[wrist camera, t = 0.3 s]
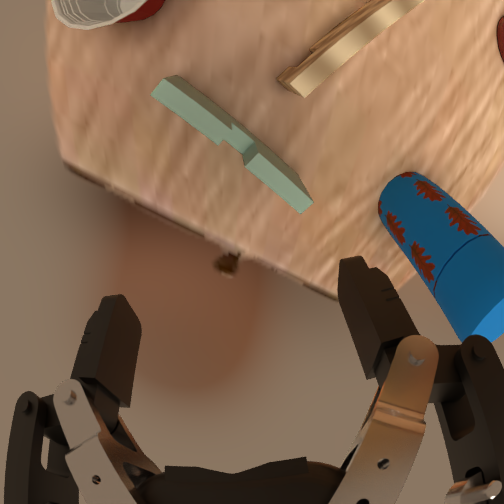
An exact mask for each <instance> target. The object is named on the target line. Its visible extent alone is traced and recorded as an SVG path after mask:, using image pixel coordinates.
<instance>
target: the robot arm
mask: <svg viewBox="0 0 504 504" xmlns="http://www.w3.org/2000/svg"><path fill="white" fill-rule="evenodd" d="M338 299H339V303H340V306H341V309H342V312H343V314H344V317H345V320H346V322H347V325H348V328H349V330H350V333H351V336H352V339H353V342H354V344H355V347H356V350H357V353H358V356H359V359H360V361H361V364H362V367H363V370H364V373H365V376H366V379H367V380H368V379H371V378H375V377H376V379H377V382H378V385H379V386H378V388H377V391H376V393H375V396H374V398H373V401H372V403H371V405H370V408H369V410H368V412H367V414H366V417H365V419H364V421H363V423H362V426H361V428H360V430H359V432H358V434H357V436H356V438H355V440H354V441H353V443H352V445H351V447H350V448H349V450H348V453H347V454H346V456H345V458H344V460H343V462H342V464H341V465H340V467H339V468H338V467H335V466H332V465H329V464H325V463H321V462H312V461H307V459H306V457H301V458H296V459H289V460H283V461H276V462H269V463H266V464H263V465H261V466H258V467H255V468H252V469H249V470H245V471H243V472H239V473H235V474H229V473H224V472H219V471H214V470H209V469H204V468H200V467H181V466H179V467H178V466H165V472H161V470H160V469H159V468H158V467H157V466H156V465H155V463H154V462H153V461H152V460H150V459H149V458H148V457H147V456H146V455H145V454H144V453H143V451H142V450H141V448H140V447H139V445H138V444H137V442H136V441H135V439H134V438H133V436H132V434H131V433H130V431H129V429H128V428H127V426H126V424H125V423H124V421H123V419H122V417H121V416H120V415H119V414H118V412H119V407H127V408H129V407H130V402H131V395H132V387H133V381H134V374H135V368H136V362H137V356H138V350H139V345H140V339H141V333H142V332H141V331H142V330H141V324H140V321H139V319H138V317H137V316H136V314H135V312H134V311H133V309H132V308H131V306H130V305H129V303H128V301H127V300H126V298H125V297H124V296H123V295H122V294H118V295H111V296H105V297H103V298H102V300H101V303H100V306H99V309H98V311H95V312H94V313H93V315H92V316H91V318H90V319H89V320H88V322H87V325H86V328H85V331H84V335H83V337H82V340H81V344H80V347H79V350H78V353H77V357H76V360H75V364H74V367H73V371H72V374H71V378H70V379H68V380H65V381H63V382H62V383H61V384H60V385H59V386H58V387H57V388H56V390H55V393H54V394H52V395H49V396H46V397H42V398H39V397H38V396H37V395H36V394H35V393H33V392H31V391H27V392H25V393H23V394H22V395H21V396H20V397H19V399H18V400H17V403H16V406H15V411H14V416H13V421H12V427H11V432H10V438H9V446H8V452H7V461H6V471H5V487H4V504H79V490H80V492H81V494H82V496H83V497H84V499H85V501H86V503H87V504H395V503H396V501H397V499H398V497H399V495H400V492H401V491H402V488H403V486H404V484H405V482H406V480H407V477H408V475H409V473H410V470H411V468H412V466H413V463H414V461H415V458H416V456H417V453H418V450H419V448H420V445H421V442H422V439H423V436H424V433H425V428H426V423H425V422H424V415H425V411H426V408H427V404H428V403H434V405H435V409H436V412H437V415H438V418H439V422H440V425H441V429H442V433H443V436H444V440H445V444H446V448H447V452H448V456H449V461H450V465H451V469H452V475H453V480H454V485H453V486H452V487H451V488H450V489H449V491H448V493H447V494H446V497H445V502H444V504H504V369H503V366H502V364H501V362H500V359H499V357H498V355H497V353H496V351H495V349H494V347H493V345H492V343H491V342H490V341H489V340H488V339H487V338H485V337H484V336H481V335H477V334H475V335H470V336H468V337H467V338H466V339H465V340H464V341H463V342H462V344H461V345H436V344H434V343H433V342H432V341H431V340H430V339H428V338H426V337H424V336H421V335H420V334H419V332H418V331H417V329H416V327H415V325H414V323H413V321H412V319H411V317H410V315H409V314H408V312H407V310H406V308H405V306H404V304H403V302H402V301H401V299H400V298H399V295H398V294H397V292H396V290H395V289H394V286H393V285H392V283H391V281H390V279H389V278H388V276H387V275H386V274H385V273H383V272H382V271H381V270H380V269H378V268H377V267H375V268H370V269H369V267H368V266H367V264H366V262H365V260H364V259H363V257H362V256H355V257H350V258H344V259H341V260H340V263H339V277H338ZM43 436H45V437H47V438H48V439H50V444H49V453H48V465H47V469H46V470H45V469H44V468H43V466H42V464H41V452H42V444H43Z"/></svg>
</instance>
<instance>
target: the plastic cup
mask: <svg viewBox="0 0 504 504" xmlns="http://www.w3.org/2000/svg"><path fill="white" fill-rule="evenodd" d="M164 1H165V0H52V1H51V3H52V6H53V10H54V13H55V16H56V18H57V19H58V20H60V21H61V22H62V23H64V24H65V25H66V26H67V27H69V28H77V29H84V30H90V29H94V28H98V27H102V26H106V25H111V24H114V23H119V22H129V21H136V20H143V19H146V18H148V17H150V16H152V15H154V14H155V13H156V12H157V11H158V10H159V9H160V8H161V7H162V5H163V3H164Z"/></svg>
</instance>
